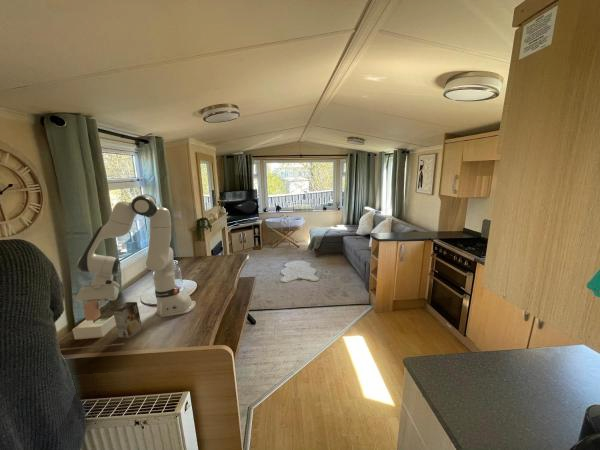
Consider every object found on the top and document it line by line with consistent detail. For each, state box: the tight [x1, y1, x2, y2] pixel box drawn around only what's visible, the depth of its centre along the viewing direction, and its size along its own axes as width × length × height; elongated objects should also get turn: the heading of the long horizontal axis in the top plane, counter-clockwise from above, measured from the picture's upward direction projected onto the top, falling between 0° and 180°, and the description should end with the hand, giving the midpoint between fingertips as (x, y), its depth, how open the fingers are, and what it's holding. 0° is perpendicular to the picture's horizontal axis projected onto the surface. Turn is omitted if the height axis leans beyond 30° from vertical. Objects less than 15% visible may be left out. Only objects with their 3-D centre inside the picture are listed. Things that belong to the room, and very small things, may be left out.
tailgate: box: [93, 317, 110, 324], centre depth 152 cm, size 14×1×5 cm
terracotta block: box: [82, 300, 102, 321], centre depth 140 cm, size 4×4×9 cm
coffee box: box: [112, 301, 143, 340], centre depth 138 cm, size 9×6×16 cm
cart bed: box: [71, 314, 117, 340], centre depth 142 cm, size 14×13×6 cm
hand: (92, 308), depth 141 cm, fingers closed on terracotta block, 4 cm apart
